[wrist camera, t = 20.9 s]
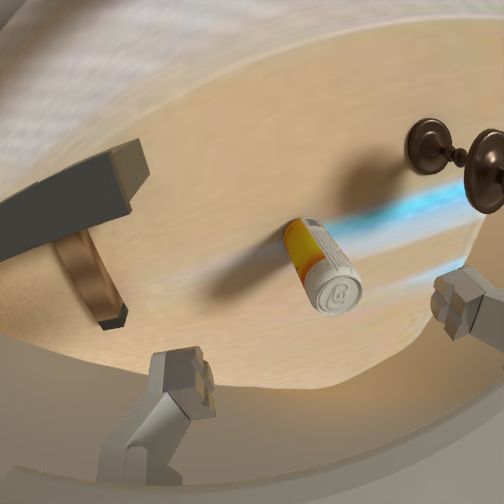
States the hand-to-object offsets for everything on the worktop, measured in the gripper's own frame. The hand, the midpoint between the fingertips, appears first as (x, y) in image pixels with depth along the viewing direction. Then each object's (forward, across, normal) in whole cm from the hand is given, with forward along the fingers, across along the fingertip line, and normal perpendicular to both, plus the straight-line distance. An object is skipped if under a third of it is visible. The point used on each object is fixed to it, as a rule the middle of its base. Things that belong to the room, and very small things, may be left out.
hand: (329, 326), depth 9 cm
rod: (+31, +26, +10) cm, 42 cm away
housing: (+31, +26, -3) cm, 41 cm away
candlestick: (+31, -29, +4) cm, 43 cm away
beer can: (+31, -6, +14) cm, 35 cm away
